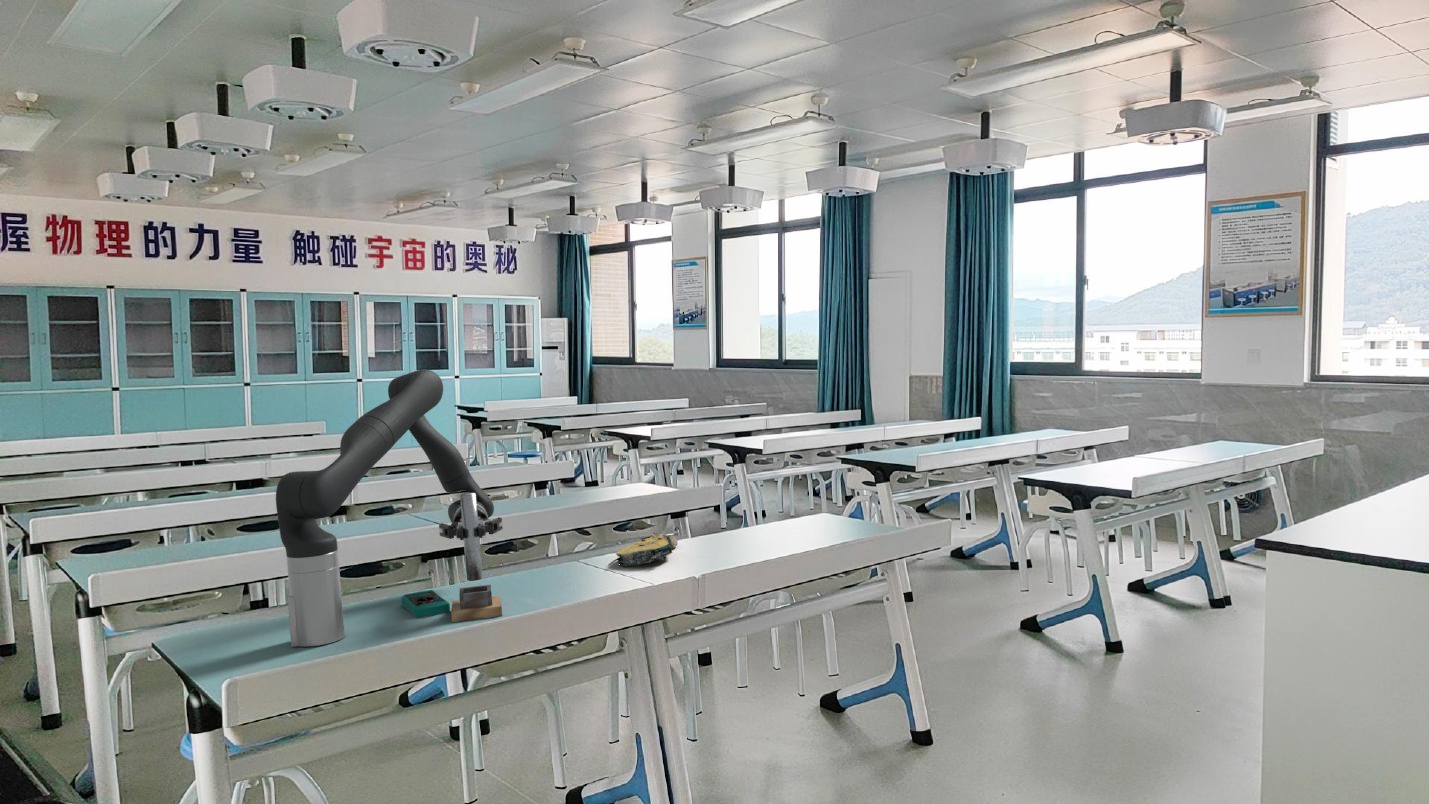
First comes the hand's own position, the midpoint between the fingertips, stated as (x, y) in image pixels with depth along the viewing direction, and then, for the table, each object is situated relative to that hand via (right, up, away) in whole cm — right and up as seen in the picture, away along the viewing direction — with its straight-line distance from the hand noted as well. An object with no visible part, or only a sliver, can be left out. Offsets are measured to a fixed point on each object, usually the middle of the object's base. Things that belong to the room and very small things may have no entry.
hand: (471, 534), depth 193 cm
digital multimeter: (-13, -18, +11) cm, 25 cm away
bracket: (0, -17, +3) cm, 17 cm away
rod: (0, -10, +3) cm, 10 cm away
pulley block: (+34, -14, +50) cm, 62 cm away
